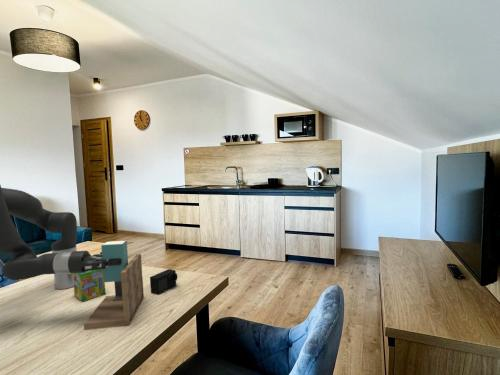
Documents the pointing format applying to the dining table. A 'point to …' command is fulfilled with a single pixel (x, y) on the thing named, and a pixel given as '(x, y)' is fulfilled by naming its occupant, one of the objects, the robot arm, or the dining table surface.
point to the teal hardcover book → (113, 252)
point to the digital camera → (163, 281)
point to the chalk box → (89, 284)
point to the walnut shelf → (120, 299)
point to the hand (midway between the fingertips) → (123, 259)
